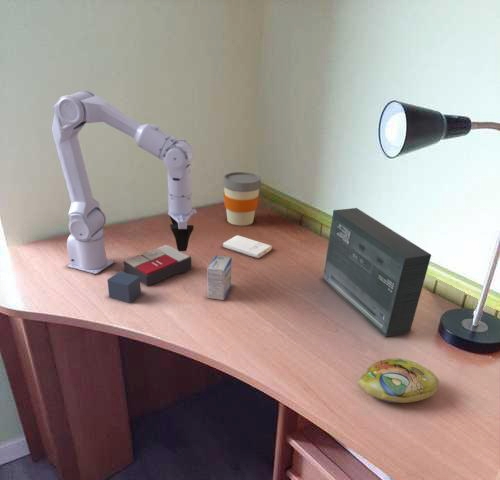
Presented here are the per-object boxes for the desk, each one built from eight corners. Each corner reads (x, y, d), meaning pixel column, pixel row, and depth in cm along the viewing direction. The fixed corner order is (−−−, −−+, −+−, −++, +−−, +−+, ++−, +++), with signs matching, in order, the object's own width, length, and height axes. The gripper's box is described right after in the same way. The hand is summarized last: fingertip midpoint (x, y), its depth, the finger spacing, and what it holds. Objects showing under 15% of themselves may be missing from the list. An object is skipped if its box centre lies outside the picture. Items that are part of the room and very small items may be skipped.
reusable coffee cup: (218, 225, 165) (219, 181, 157) (226, 212, 175) (227, 170, 167) (255, 229, 163) (258, 185, 155) (261, 216, 174) (263, 173, 166)
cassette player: (410, 331, 116) (431, 254, 105) (385, 337, 113) (404, 258, 103) (344, 276, 138) (356, 207, 127) (323, 279, 136) (333, 210, 125)
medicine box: (223, 301, 123) (224, 270, 118) (206, 298, 124) (207, 267, 119) (231, 286, 130) (232, 256, 125) (214, 284, 130) (215, 254, 126)
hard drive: (237, 239, 156) (271, 249, 150) (222, 247, 150) (257, 259, 144) (237, 234, 155) (271, 244, 149) (222, 242, 149) (257, 254, 144)
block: (109, 297, 122) (107, 279, 119) (121, 288, 126) (119, 271, 123) (129, 303, 120) (128, 285, 117) (141, 294, 124) (139, 276, 121)
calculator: (122, 259, 131) (166, 242, 140) (124, 273, 134) (168, 255, 143) (146, 274, 125) (191, 255, 134) (148, 288, 128) (192, 268, 137)
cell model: (450, 399, 92) (386, 380, 87) (423, 421, 97) (361, 404, 92) (432, 355, 100) (372, 336, 95) (408, 377, 105) (349, 360, 100)
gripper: (199, 203, 115) (199, 255, 122) (193, 183, 127) (193, 232, 134) (168, 203, 114) (170, 257, 121) (165, 184, 126) (167, 233, 133)
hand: (181, 244), depth 128 cm, fingers open, 7 cm apart
